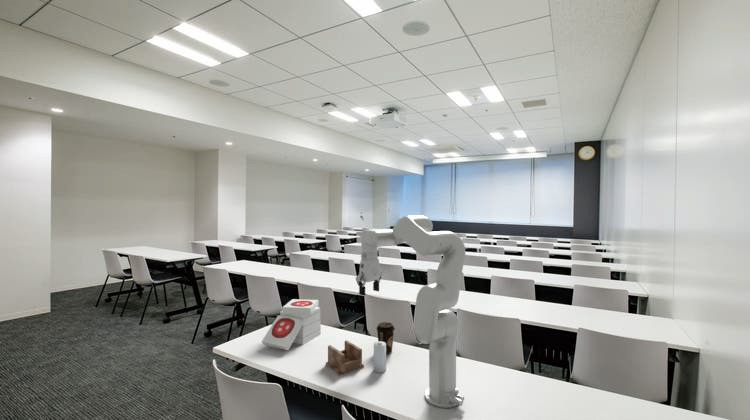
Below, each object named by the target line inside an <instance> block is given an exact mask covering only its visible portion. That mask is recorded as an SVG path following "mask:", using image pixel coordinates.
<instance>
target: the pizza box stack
mask: <svg viewBox="0 0 750 420" xmlns="http://www.w3.org/2000/svg"><path fill="white" fill-rule="evenodd" d="M279 314H280V315H277V316H276V317H275V319H274V321H273V323H272V324H271V325H270V327H269V329H268V330H267V332H266V334H265V335H264V337H263V338H262V340H261V342H262V344H263V345H264V346H268V347H272V348H276V349H280V350H285V351H289V350H290V348H291V346H292V345H293V344H298V345H305V344H307V343H308V342H311V341H312V340H314V339H315V337H316V338H317V337H319V336H321V329H322V328H321V325H322V324H321V322H322V321H321V307H320V306H319V299H304V298H303V299H302V298H300V299H299V298H298V299H297V298H293V299H291V300H289V301H288V302H286V304H285V305H283V306H282V309H281V310H280V311H279ZM310 340H311V341H310Z"/></svg>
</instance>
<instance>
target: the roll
mask: <svg viewBox="0 0 750 420" xmlns="http://www.w3.org/2000/svg"><path fill="white" fill-rule="evenodd" d="M373 371H374V372H375V373H376V374H377V373H378V374H384V373H385V372H387V354H386V343H385V342H382V341H378V340H377V341H375V342H374V343H373Z"/></svg>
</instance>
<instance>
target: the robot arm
mask: <svg viewBox="0 0 750 420" xmlns="http://www.w3.org/2000/svg"><path fill="white" fill-rule="evenodd" d="M433 227H434V225H433V222H432V220H431V219H430V218H429V217H427V216H425V215H405V216H401V217H400V218H399V219H398V221H397V222H396V223H395V224H394V225H393V228H389V229H387V228H386V229H375V228H374V229H371V228H368V229H367V228H366V229H362V230H361V233H360V234H361V235H360V237H361V241H360V242H361V245H360V247H361V248H360V249H361V253H360V254H361V255H360V258H361V259H360V263H359V273H358V275H357V276H355V281H356V283H357V285H358V289H359V290H358V292H359V293H358V295H360V296H366V284H367V283H370V282H371V283H372V282H373V283H372V284H373V285H372V286H373V287H372V290H373V291H374V292H379V291H380V283H381V279H382V275H383V272H382V271H381V269H380V268H381V266H380V259H379V257H378V252H379V251H378V250H379V249H378V248H381V247H391V246H396V245H401V244H404V243H406V244H407V245H408V246H410V248H411V249H412V250H413V251H415V252H416V253H418V255H420V256H423V257H429V258H430V257H435V256H436V257H437V256H443V257H442V259H441V261H440V262H439V264H438V266H437V270H436V276H435V277H436V279H435V281H434V282H433V283H428V284H426V285H424V286H422V287H421V288H420V289H419V290H418V293H417V294H416V298H415V309H414V316H413V325H412V326H413V333H414V336H415V338H416V339H417V341H419V342H420V343H421V344H424V345H426V344H427V345H428V344H429V347H428V365H429V366H428V380H429V381H428V387H427V389H426V390H425V391H424V398H425V400H426V402H428V403H429V404H430V405H432V406H434V407H438V408H442V409H449V408H454V407H457V406H459V407H462V406H463V404H464V400H465V397H464V396H463V395H461V394H460V393H459V391H460V390H459V388H458V387H457V342H458V335H459V329H460V323H459V319H458V316H457V314H456V313H455V312H454V311H452V310H451V309H452V308H454V307H455V306H456V305H457V304H458V302H459V298H460V291H461V283H462V275H463V269H464V266H465V265H464V264H465V259H466V247H465V243H464V241H463V239H462V238H461V237H460V236H459V235H458V234H457V233H455V232H453V231H449V230H439V231H433Z"/></svg>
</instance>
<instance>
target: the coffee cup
mask: <svg viewBox="0 0 750 420" xmlns="http://www.w3.org/2000/svg"><path fill="white" fill-rule="evenodd" d="M395 329H396V328H395V326H394V325H393V323H391V322H385V321H383V322H380V323H378V325H377V326H376V331H377V342H378V341H382V342H385V343H386V355H391V353H393V346H394V345H393V344H394V335H395V333H394V331H395Z"/></svg>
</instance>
